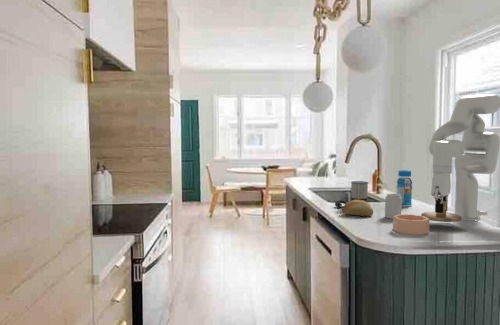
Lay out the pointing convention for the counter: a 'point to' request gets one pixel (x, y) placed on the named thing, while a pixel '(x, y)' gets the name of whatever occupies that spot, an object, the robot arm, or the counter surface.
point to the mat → (445, 227)
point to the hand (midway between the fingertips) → (441, 211)
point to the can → (393, 205)
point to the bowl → (410, 224)
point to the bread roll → (358, 208)
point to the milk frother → (356, 192)
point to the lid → (442, 215)
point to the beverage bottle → (405, 187)
